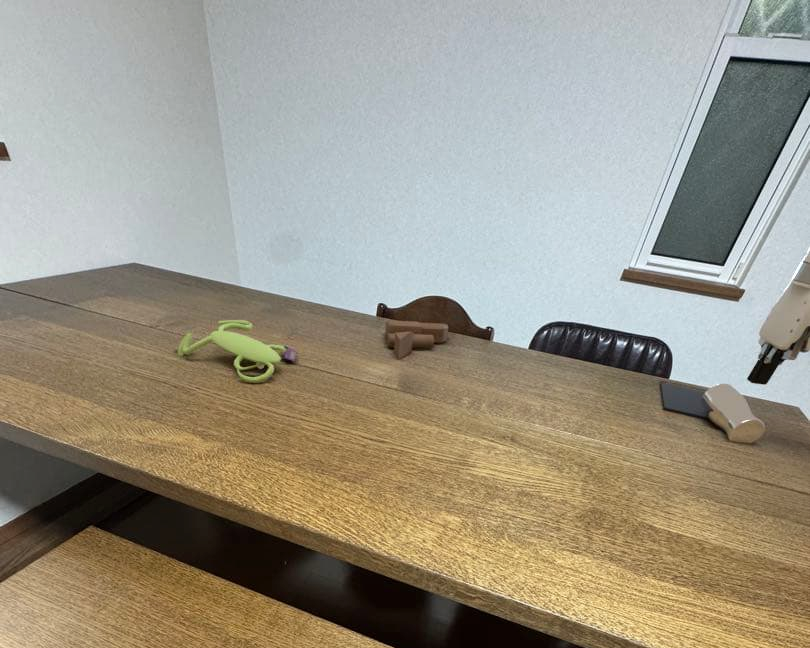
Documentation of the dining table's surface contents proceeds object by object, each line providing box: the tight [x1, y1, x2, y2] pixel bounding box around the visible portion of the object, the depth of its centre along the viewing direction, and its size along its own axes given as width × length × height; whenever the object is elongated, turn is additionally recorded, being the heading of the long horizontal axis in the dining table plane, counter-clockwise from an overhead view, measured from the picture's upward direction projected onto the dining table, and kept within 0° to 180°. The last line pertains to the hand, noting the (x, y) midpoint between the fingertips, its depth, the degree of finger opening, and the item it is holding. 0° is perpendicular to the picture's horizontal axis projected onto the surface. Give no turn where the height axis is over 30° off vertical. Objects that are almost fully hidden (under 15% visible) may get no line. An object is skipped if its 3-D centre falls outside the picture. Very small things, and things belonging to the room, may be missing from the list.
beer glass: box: [701, 383, 766, 445], centre depth 95 cm, size 7×7×15 cm
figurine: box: [177, 319, 298, 384], centre depth 100 cm, size 18×27×6 cm
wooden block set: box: [384, 319, 449, 361], centre depth 118 cm, size 17×6×18 cm
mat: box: [659, 382, 712, 422], centre depth 108 cm, size 16×18×1 cm
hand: (756, 382), depth 89 cm, fingers closed
